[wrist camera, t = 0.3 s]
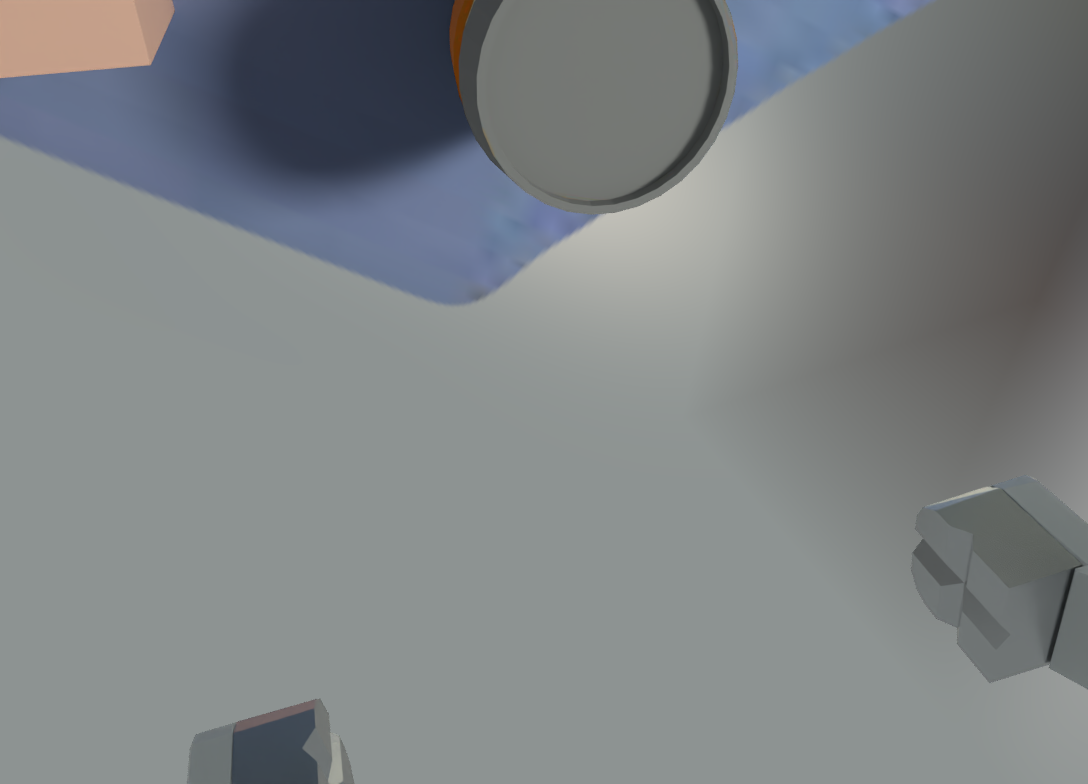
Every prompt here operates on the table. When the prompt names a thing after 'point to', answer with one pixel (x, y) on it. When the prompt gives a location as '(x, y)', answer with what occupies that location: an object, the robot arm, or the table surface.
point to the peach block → (79, 34)
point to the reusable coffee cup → (594, 93)
